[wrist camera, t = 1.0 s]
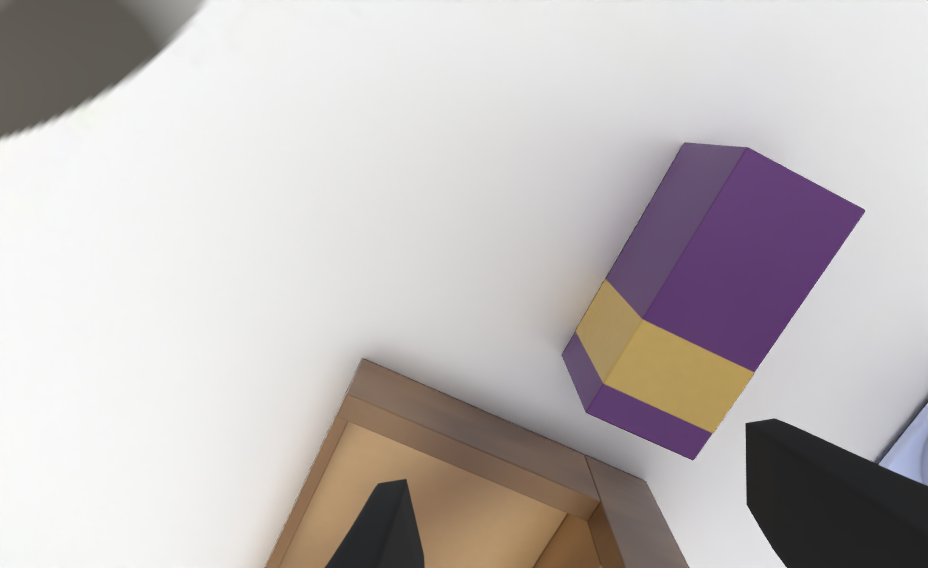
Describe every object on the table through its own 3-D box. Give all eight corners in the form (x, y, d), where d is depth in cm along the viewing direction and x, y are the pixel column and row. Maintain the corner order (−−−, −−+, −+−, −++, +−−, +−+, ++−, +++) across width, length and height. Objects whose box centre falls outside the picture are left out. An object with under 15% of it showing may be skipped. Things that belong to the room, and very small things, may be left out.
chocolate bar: (778, 191, 20) (868, 210, 15) (649, 395, 22) (694, 462, 18) (683, 141, 19) (747, 146, 15) (560, 354, 22) (584, 413, 17)
